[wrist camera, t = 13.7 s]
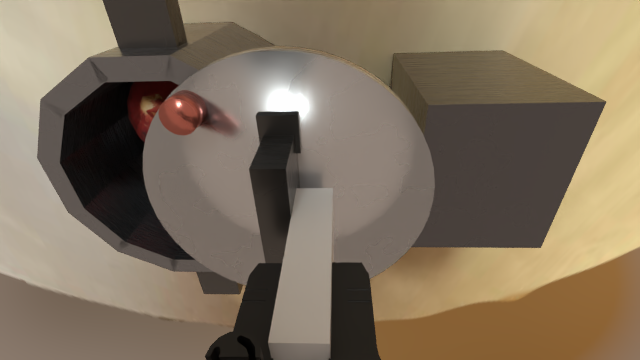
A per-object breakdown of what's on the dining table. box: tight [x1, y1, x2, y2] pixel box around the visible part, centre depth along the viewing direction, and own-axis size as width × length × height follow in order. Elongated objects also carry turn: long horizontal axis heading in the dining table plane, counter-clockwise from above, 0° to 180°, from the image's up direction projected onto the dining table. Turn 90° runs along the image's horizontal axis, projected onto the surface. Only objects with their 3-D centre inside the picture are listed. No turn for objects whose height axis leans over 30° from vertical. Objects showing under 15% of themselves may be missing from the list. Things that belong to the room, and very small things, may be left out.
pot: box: [37, 0, 275, 294], centre depth 20 cm, size 21×12×10 cm, turn 2°
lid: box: [143, 46, 435, 285], centre depth 14 cm, size 13×13×4 cm
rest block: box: [391, 51, 606, 248], centre depth 20 cm, size 8×7×10 cm
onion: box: [127, 81, 179, 142], centre depth 19 cm, size 6×6×8 cm
